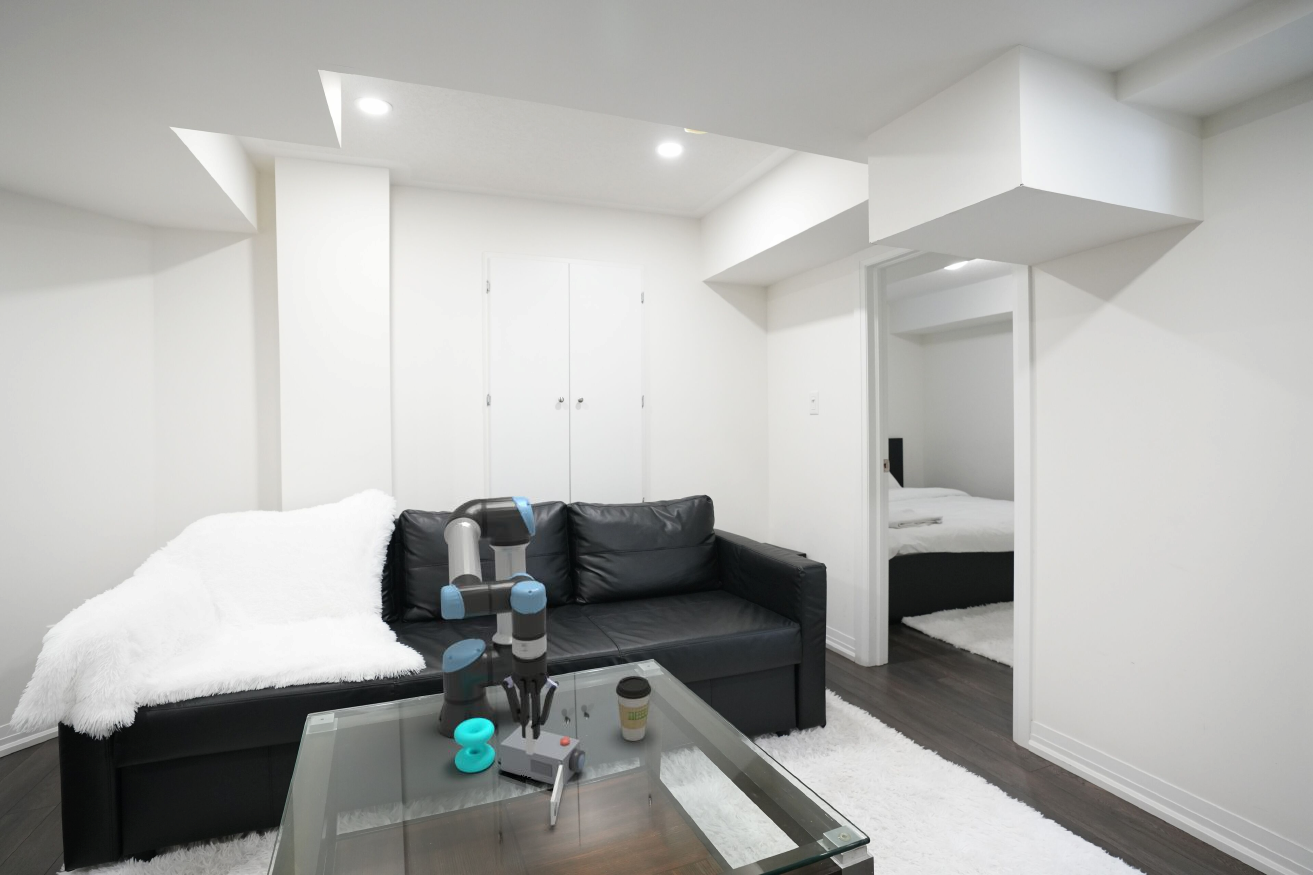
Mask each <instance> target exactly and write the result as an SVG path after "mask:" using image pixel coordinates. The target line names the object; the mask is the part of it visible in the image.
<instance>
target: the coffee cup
mask: <svg viewBox="0 0 1313 875" xmlns="http://www.w3.org/2000/svg"><path fill="white" fill-rule="evenodd" d="M615 692H616V695H617V703H618V713H619V719H620V725H621V732H622V734H621V735H622V737H623V739H625V740H627V741H630V742H631V741H632V742H635V741H640V740H642V739H644V737H645V734H646V724H647V722H648V716H649V715H648V714H649V713H648V712H649V706H650V694H651V692H652V686H651V685H650V683H649V680H648V679H647V678H645V677H643V676H638V675H629V676H626V677H623V678H620V680H618V683H617V685H616V688H615Z"/></svg>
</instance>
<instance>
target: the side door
mask: <svg viewBox="0 0 1313 875" xmlns="http://www.w3.org/2000/svg"><path fill="white" fill-rule="evenodd" d="M563 788H564V786H563V765H561V761H558V762H557V777H556V781H555V785H553V790H552V794H551V798H550V825H551V826H555V825H556V824H555V823H556V821H557V817H558V816H557V815H558V811H559V808H560V807H559V806H560V801H561V796H562V792H563Z"/></svg>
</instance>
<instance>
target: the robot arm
mask: <svg viewBox="0 0 1313 875" xmlns="http://www.w3.org/2000/svg"><path fill="white" fill-rule="evenodd" d="M533 512H534V511H533V508H532V505H531V502H530V500H529V499H528V498H527V497H526V496H503V497H501V496H500V497H490V498H475V499H471V500H468V501H466V502H464V503H462V504H460V505H459V506H458V507H457V508H455V509H454V510H453V511H452V513H451V514H450V515H449V516H448V518H447V519H446V521H445V524H444V527H443V528H444V529H443V537H444V540H445V542H446V544H447V545H448V550H447V552H448V578H449V580H448V582H449V585H445V586H443V587H441V589H440V606H441V608H440V609H441V611H440V612H441V617H442V618H443V619H445V620H453V619H455V620H456V619H458V620H463V619H467V618H475V617H476V618H477V617H481V616H482V617H483V616H490V615H496V625H497V627H496V628H497V631H496V633H495V634H494V635H493V636H492V638H491V639H492V641H491V642H492V643H490V644H486V643H485V641H484V640H483V639H480V638H477V639H476V638H467V639H463V640H460V641H458V642H456V643H453V644H452V645H450V646H449V647H448V648H447V649H445V651H444V653H443V656H442V666H441V669H442V670H441V671H442V672H443V673H442V676H443V678H442V679H443V681H442V682H443V703H442V706H441V710H440V713H439V716H438V719H437V721H438V722H437V724H438V731H439V732H440V734H442V735H443V736H445V737H448V738H453V739H455V738H454V732H455V729H456V728H457V727H458V725H460V724H461V723H462V722H464V721H466V720H469V719H474V718H483V719H487V720H489V721H490V722H492V723H494V712H493V711H494V710H493V708H492V706H491V705H490V701H489V698H488V695H487V688H491V687H499V686H501V688H502V689H503V690H504V692H505V694H506V697H507V701H508V702H507V703H508V706H509V710H510V713H511V718H512V720H513V722H514V723H518V724H520V726H522V737H523V738H526V754H529V755H533V753H534V751H535V750H536V748H537V739H538V738H539V736H540V730H541V726H544V725H545V724H546V723H547V721H548V720H549V716H550V711H551V708H552V704H553V700H554V695H555V692H556V690H557V689H558V687H559V685H560V683H559V682H558V681H557V680H556V681H553V680H551V679H550V675H549V673H548V670H547V668H548V655H547V652H548V651H547V649H548V648H547V647H548V645H547V641H548V640H547V601H548V600H547V599H548V598H547V596H546V594H547V593H546V587H545V586H546V585H544V584H543V583H542V582H539V581H536V580H535V579H534V577H533V576H531V575H530V574H529V573H527V569H526V568H527V567H526V566H527V565H526V547H528V545H530V543H531V537H533V536H535V535H536V524H535V519H534V514H533ZM481 540H483V541H484V540H488V544H489V545H488V546H489V547H490V548H492V549H493V550H494V562H495V565H494V566H495V568H494V569H495V580H491V581H490V580H489V581H483V578H482V577H483V576H482V568H481V560H480V558H481V557H480V548H479V542H480V541H481ZM545 685H546V687H545V688H546V689H545V690H546V694H545V698H544V703H543V706H542V710H541V693H542V689H543V688H544V686H545ZM517 689H518V693H517ZM518 694H519V695H518ZM518 696H519V697H518ZM519 699H520V701H519ZM530 699H531V700H530ZM530 701H531V702H530ZM530 703H531V705H530ZM530 709H531V710H530ZM530 711H531V712H530ZM530 713H531V714H530ZM530 719H531V720H530Z"/></svg>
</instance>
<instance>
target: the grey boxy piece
mask: <svg viewBox="0 0 1313 875" xmlns="http://www.w3.org/2000/svg"><path fill="white" fill-rule="evenodd" d="M499 745H500V770H501V771H503V772H504V771H505V772H508V773H511V774H515V775H518V776H521V775H522V777H525V776H527V777H526V778H528V777H531V778H530V779H533V780H536V781H539V782H543V783H546V784H550V785H553V786H554V785H555V781H556V777H557V762H558V761H561V765H563V787H565V786H566V784H567V783H568V782H569V781H570V779H572V777H573V776H574V775H575V774H576V773H580V772H581V771H582V770H583V768H584V766H585V762H586V752H585V751H584V750H583V749H581V740H579V739H578V738H577V739H576V738H573V737H569V736H565V735H560V734H557V733H552V732H548V731H544V730H541V729H540V736H539V738H538V739H537V748H536V750H535V751H534V753H533V755H529V754H526V738H523V737H522V725H519V727H518V728H516V729H515V730H514V731H513V732H511V734H510V735H509V736H508V737H507V738H505V739H504V740H503V741H502V742H501V743H500V744H499ZM523 775H524V776H523Z"/></svg>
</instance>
